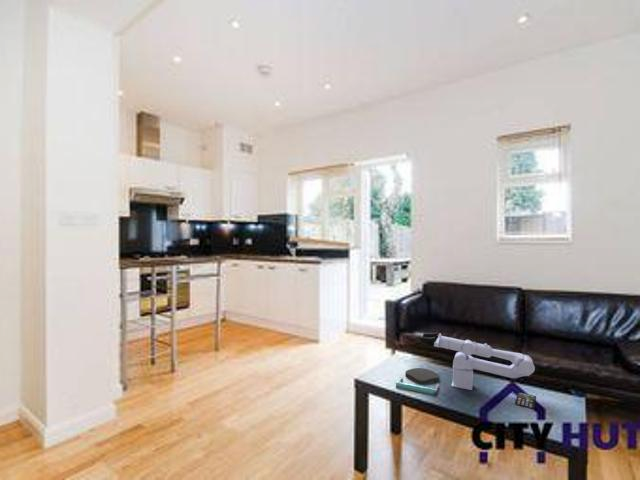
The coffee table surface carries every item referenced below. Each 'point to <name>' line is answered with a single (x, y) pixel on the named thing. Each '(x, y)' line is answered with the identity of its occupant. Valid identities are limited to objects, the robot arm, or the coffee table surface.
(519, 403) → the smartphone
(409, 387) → the teal tray
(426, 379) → the media streaming box
